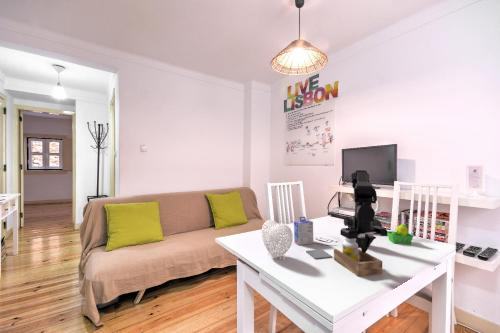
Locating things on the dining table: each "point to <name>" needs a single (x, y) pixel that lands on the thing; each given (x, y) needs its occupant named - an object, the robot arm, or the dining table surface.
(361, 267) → the shelf bay
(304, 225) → the ink cartridge box
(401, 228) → the fruit basket
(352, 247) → the pill bottle
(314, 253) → the coaster
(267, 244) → the decorative heart
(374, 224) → the hook
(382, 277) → the dining table surface
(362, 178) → the robot arm
